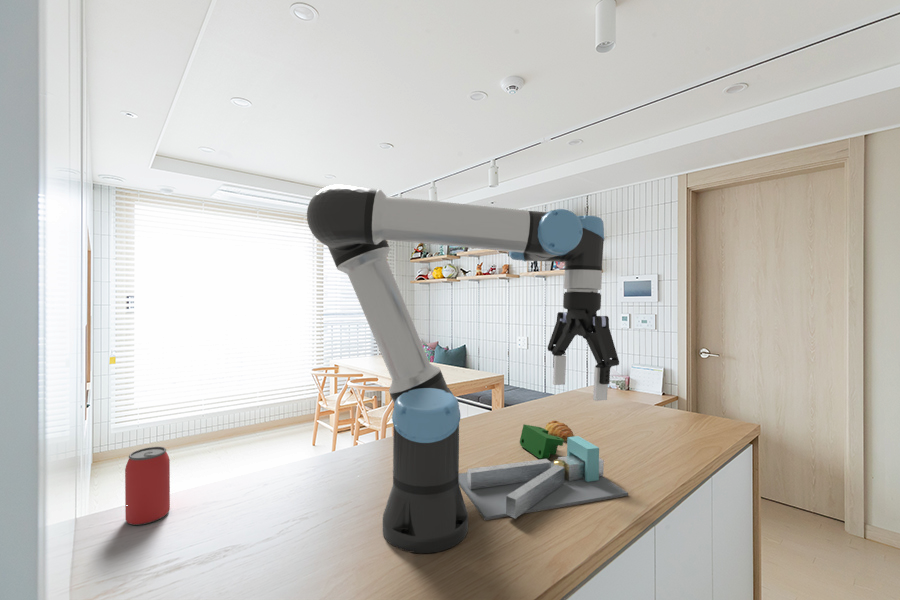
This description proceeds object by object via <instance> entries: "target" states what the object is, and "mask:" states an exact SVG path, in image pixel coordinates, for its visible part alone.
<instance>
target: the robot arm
mask: <svg viewBox="0 0 900 600" xmlns="http://www.w3.org/2000/svg"><path fill="white" fill-rule="evenodd" d="M306 222H307V226H308V228H309V230H310V233H312V235H313V236H314V237H315V239H316V240H318V242H320V243H321V244H323V245H324V246H326V247H327V248H328V250H329V252H330V255H331V257H332V260H333V262H334V265H335V267H336V269H337V270H338V271H340V272H343V273H344V274H346V275H347V276H348V279H349V281H350V284H351V285H352V288H353V290H354V292H355V296H356V298H357V300H358V302H359V304H360V307H361V310H362V311H363V314H364V317H365V319H366V321H367V324H368V325H369V328H370V331H371V333H372V335H373V338H374V340H375V342H376V345H377V347H378V349H379V351H380V355H381V357H382V359H383V362H384V363H385V366H386V369H387V371H388V374H389V376H390V378H391V384H390V387H389V388H388V393H389V395H390V397H391V399H392V403H393V404H394V405H393V410H392V414H391V415H392V417H391V419H392V424H393V430H392V431H393V436H392V437H393V438H392V439H393V444H392V445H393V446H392V447H393V449H392V450H393V451H392V487H391V490H390V492H389V495H388V499H387V502H386V505H385V508H384V511H383V514H382V534H383V537H384V538H385V540H386V542H388V543H389V544H390V545H391V546H393V547H396V548H398V549H399V550H402V551H405V552H409V553H416V554H432V553H438V552H442V551H446V550H448V549H451V548H453V547H455V546H456V545H459V543H460V542H462V541H463V540H464V539H465V537H467V535H468V531H469V514H468V512H469V511H468V509H467V506H466V503H465V501H464V496H463V494H462V493H463V492H462V490H461V486H460V485H459V471H460V469H459V468H460V466H459V464H460V422H461V410H460V404H459V401H458V399H457V397H456V396H455V395H454V394H453V392H452V390H450V387H448V384H447V383H446V380H445V378H444V375H443V373H442V371H441V368H440V367H438V366H436V365H433V364H432V363H430V360H429V358H428V356H427V353H426V351H425V348H424V346H423V344H422V341H421V339H420V336H419V334H418V332H417V329H416V327H415V324H414V323H413V320H412V317H411V315H410V312H409V310H408V307H407V305H406V303H405V300H404V298H403V296H402V295H403V294H402V293H401V291H400V288H399V286H398V284H397V282H396V279H395V276H394V274H393V272H392V269H391V267H390V264H389V262H388V256H389V253H390V250H391V248H390V246H389V243H388V241H395V242H406V243H416V244H428V245H435V246H437V245H439V246H447V247H450V246H451V247H459V248H460V247H461V248H470V249H471V248H472V249H481V250H489V251H490V250H492V251H502V252H508V254H509V257H510V258H511V260H513V261H514V260H515V261H521V262H557V263H564V276H563V277H564V278H563V279H564V280H563V288H564V289H565V290H566V291H564V293H563V299H562V301H563V303H562V304H563V305H562V306H563V309H564V310H567V311H565V312H561V311H560V312H559V311H558V313H557V314H556V321H555V325H554V326H553V327H554V328H553V331H552V333H551V336H550V339H549V343H548V345H547V351H548V352H551V354H552V355H553V359H552V360H553V363H552V367H553V370H552V371H553V372H552V373H553V374H552V375H553V376H552V378H553V379H552V384H553V385H554V386H560V385H561V386H564V385H566V371H567V370H566V368H567V353H566V351H567V349H568V348H569V346H570V345H571V342H572V341H573V339H574V338H575V337H576V336H580V337H582V339H584V340H585V341H586V343H587V344H588V346H589V348H590V351H591V353H592V355H593V357H594V359H595V362H596V365H595V366H594V375H593V395H592V396H593V397H592V399H593V401H595V402H599V401H607V400H608V390H609V389H608V385H610V381H611V379H610V377H611V368H612V367H615V366H619V365H620V360H619V356H618V353H617V350H616V346H615V343H614V340H613V337H612V332H611V330H610V319H609V316H608V315H598V313H597V312H598V311H599V310H601V307H602V294H601V292H599V291H600V290H602V283H603V282H602V280H603V279H602V278H603V277H602V276H603V259H604V258H603V257H604V256H603V255H604V243H605V227H604V226H605V225H604V221H603V219H602V218H601V217H599V216H595V215H576V213H574V211H573V212H572V210H568V209H565V208H557V209H553V210H549V211H546V212H545V211H538V210H537V211H536V210H527V209H526V210H524V209H516V208H507V207H506V208H505V207H497V206H487V205H477V204H476V205H475V204H468V203H457V202H449V201H448V202H447V201H439V200H428V199H419V198H410V197H409V198H408V197H400V196H399V197H398V196H389V195H387V194H385V193H384V191H383V190H382V189H380V188H371V187H370V188H369V187H363V186H355V185H347V184H346V185H345V184H333V185H329V186H326V187H323V188H321V189H319V191H317V192H316V193H315V194H314V195H313V196H312V198H311V199H310V201H309V204H308V206H307V209H306Z"/></svg>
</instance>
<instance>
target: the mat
mask: <svg viewBox="0 0 900 600" xmlns="http://www.w3.org/2000/svg"><path fill="white" fill-rule="evenodd" d="M549 461H550V460H549ZM550 462H551V467H553V466H554V460H551V461H550ZM467 474H468V471H467V472H460V473H459V487H460V489H462V491H463V492H464V494H465V495H466V496H467V498H468V499H469V500H470V501H471V503H472V504H473V506H474V507H475V509H476V510H477V511H478V512H479V514H480V515H481V517H482V518H483V520H484V521H488V520H489V521H490V520H493V519H494V520H495V518H496V519H501V518H506V516H507V517H509V516H508V515H506V496H507V495H508V494H510V493H512V492H513V491H515V490H516V489H518V488H520V487H521V486H523V485H524V484H526V483H528V482H529V481H526V482H519V483H513V484H506V485H499V486H492V487H485V488H478V489H472V490H471V489H470V488H469V487H468V485H467ZM628 496H629V492H628V491H627V490H625V489H624V488H622V487H620V486H619V485H617V484H615V483H614V482H612V481H611V480H610V479H608V478H606V477H605V476H604V475H603V476H599V480H597V481H590V482H586V481H585V479H578V480H571V481H568V480H567V479H566V478H565V479H564V484H563V485H561V486H560V487H558V488H557V489H556V490H554V491H553V492H552V493H550V494H549V495H547V496H546V497H545V498H543V499H542V500H540V501H539V502H538V503H536V504H535V505H534V506H532V507H531V508H529V509H528V510H527V511H525V512H524V513H522V514H521V515H524V514H530V513H534V512H540V511H547V510H552V509H558V508H563V507H570V506H576V505H581V504H587V503H593V502H599V501H604V500H610V499H617V498H621V497H628Z"/></svg>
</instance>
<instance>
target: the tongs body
mask: <svg viewBox="0 0 900 600" xmlns="http://www.w3.org/2000/svg"><path fill="white" fill-rule="evenodd" d="M553 461H554V465H559V466H562V467H564V479H565V478H566V479H567V480H568V481H571V480H578V479H585V461H584V460H582V459H581V458H579V457H577V456H576V455H571V456H567V455H565V456H558V457H557V458H556V459H554V460H553ZM604 462H605V461H604V459H603V458H601V457H599V476H603V477H604V466H605V465H604ZM550 468H551V462H550V460H549V459H536V460H535V459H533V460H526V461H518V462H511V463H505V464H503V463H502V464H496V465H489V466H480V467H474V468H467V472H468V474H467V485H468V487H469V488H470V489H471V490H472V489H478V488H485V487H492V486H499V485H506V484H513V483H519V482H526V481H531V480H532V479H534V478H535V477H537V476H539V475H540V474H542V473H543V472H545V471H547V470H548V469H550Z"/></svg>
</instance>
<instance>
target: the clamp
mask: <svg viewBox="0 0 900 600" xmlns="http://www.w3.org/2000/svg"><path fill="white" fill-rule="evenodd" d="M548 432H549V431H547V430H546V429H545V427H544V428H543V427H540V426H536V425H532V424H531V425H530V424H525V423H524V424H523V426H522V430H521V434H520V440H519V444H520V446H521V447H522V448H523V449H525V450H527V451H528V452H529V453H530V454H532V455H534V456H535V457H536V458H538V459H539V460H541V459H547V460H549V459H550V457H551V455H554V456H555V454H557V452H558V446H559V447H563V445H564V440H563V439H562V438H560V437H557V436H552V435H549V434H548Z"/></svg>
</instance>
